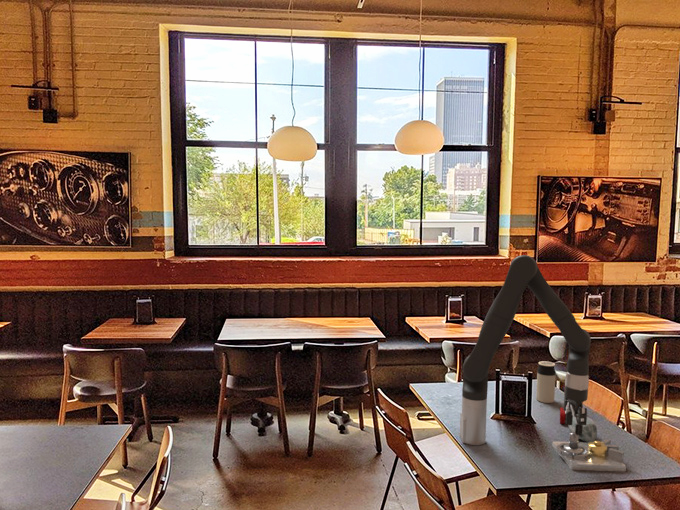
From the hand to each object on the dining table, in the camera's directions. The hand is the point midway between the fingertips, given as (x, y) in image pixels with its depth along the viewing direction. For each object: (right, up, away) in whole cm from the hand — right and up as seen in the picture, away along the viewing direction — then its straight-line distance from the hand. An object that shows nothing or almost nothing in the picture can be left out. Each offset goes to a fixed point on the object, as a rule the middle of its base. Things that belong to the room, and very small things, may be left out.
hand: (573, 429), depth 184 cm
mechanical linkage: (+15, -9, +37) cm, 41 cm away
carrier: (+5, -11, +1) cm, 12 cm away
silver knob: (0, -8, +1) cm, 8 cm away
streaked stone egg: (+12, -10, +19) cm, 25 cm away
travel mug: (+14, -7, +60) cm, 62 cm away
